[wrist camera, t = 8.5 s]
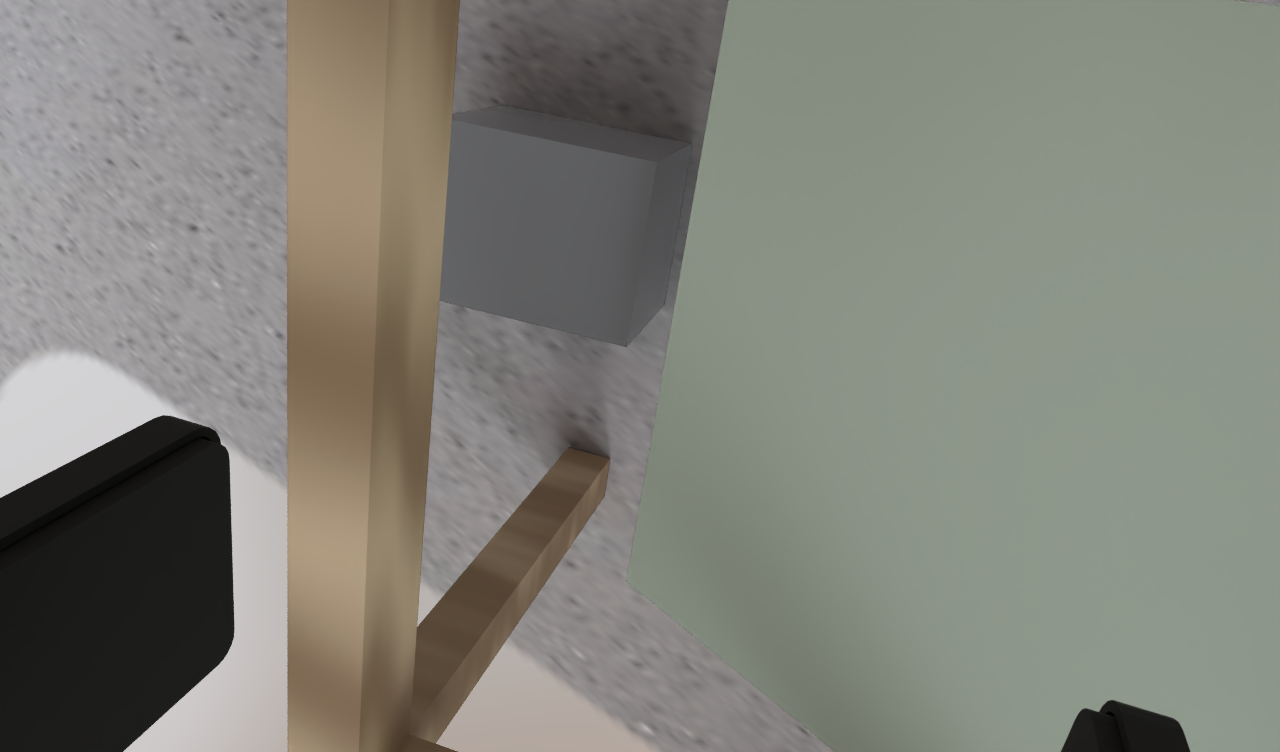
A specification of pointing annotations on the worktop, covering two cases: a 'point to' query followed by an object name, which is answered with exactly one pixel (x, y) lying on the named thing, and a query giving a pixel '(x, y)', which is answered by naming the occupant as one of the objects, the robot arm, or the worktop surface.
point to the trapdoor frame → (384, 392)
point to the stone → (560, 221)
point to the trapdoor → (981, 371)
